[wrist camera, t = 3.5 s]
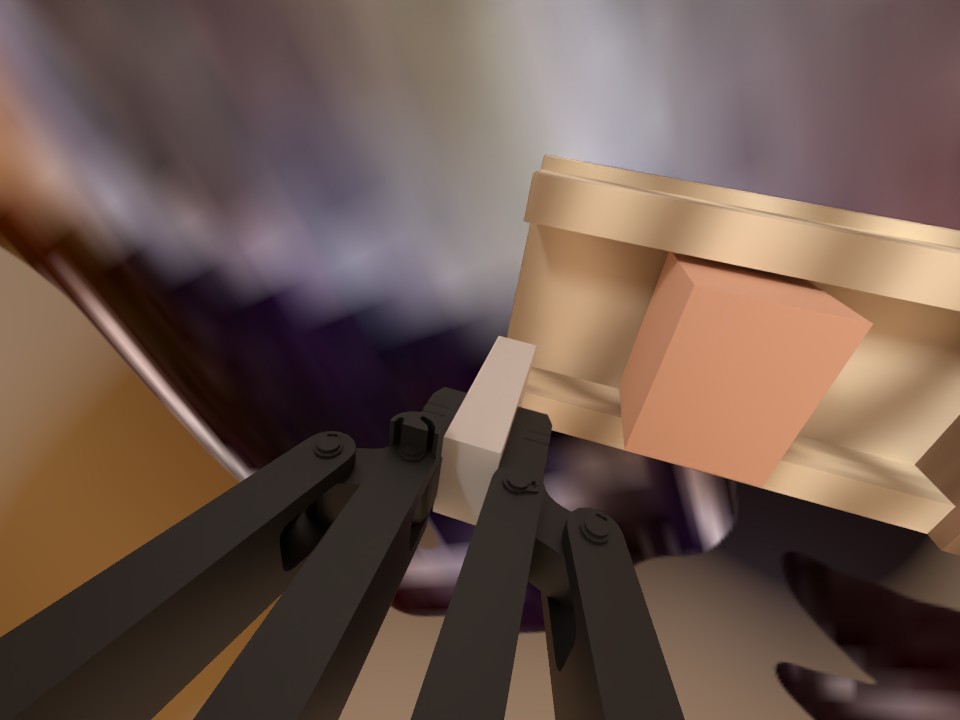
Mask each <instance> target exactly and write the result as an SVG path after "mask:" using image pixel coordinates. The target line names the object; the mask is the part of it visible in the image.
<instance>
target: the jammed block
mask: <svg viewBox="0 0 960 720" xmlns="http://www.w3.org/2000/svg"><path fill="white" fill-rule="evenodd" d="M872 325H873V323H871V322H870V321H868V320H867V319H865V318H864V317H862V316H861V315H859V314H858V313H856V312H855V311H853V310H852V309H850V308H849V307H847V306H845V305H844V304H842V303H841V302H839V301H838V300H836V299H835V298H833V297H832V296H830V295H829V294H827V293H826V292H824V291H823V290H821V289H820V288H818V287H817V286H815V285H814V284H812V283H811V282H809V281H808V280H806V279H801V278H796V277H791V276H786V275H782V274H777V273H772V272H767V271H762V270H757V269H753V268H748V267H743V266H738V265H733V264H728V263H724V262H719V261H714V260H709V259H704V258H699V257H695V256H690V255H685V254H680V253H675V252H670V251H669V253H668V255H667V258H666V261H665V263H664V266H663V269H662V271H661V274H660V277H659V279H658V282H657V285H656V287H655V290H654V292H653V295H652V298H651V300H650V303H649V306H648V308H647V311H646V314H645V316H644V319H643V322H642V324H641V327H640V329H639V332H638V335H637V337H636V340H635V343H634V345H633V348H632V351H631V353H630V356H629V359H628V361H627V364H626V366H625V369H624V372H623V374H622V377H621V380H620V382H619V393H620V405H621V416H622V427H623V439H624V450H628V451H631V452H635V453H639V454H642V455H646V456H649V457H653V458H657V459H660V460H664V461H668V462H671V463H675V464H678V465H682V466H686V467H689V468H693V469H696V470H700V471H704V472H707V473H711V474H715V475H718V476H722V477H725V478H729V479H733V480H736V481H740V482H744V483H747V484H751V485H754V486H758V487H762V486H763V485H764V483H765V482H766V480H767V479H768V478H769V476H770V475H771V473H772V472H773V470H774V469H775V467H776V466H777V464H778V463H779V461H780V460H781V458H782V457H783V456H784V454H785V453H786V451H787V450H788V448H789V447H790V445H791V444H792V442H793V441H794V439H795V438H796V437H797V435H798V434H799V432H800V431H801V429H802V428H803V426H804V425H805V423H806V422H807V420H808V419H809V417H810V416H811V415H812V413H813V412H814V410H815V409H816V407H817V406H818V404H819V403H820V401H821V400H822V398H823V397H824V395H825V394H826V393H827V391H828V390H829V388H830V387H831V385H832V384H833V382H834V381H835V379H836V378H837V376H838V375H839V373H840V372H841V371H842V369H843V368H844V366H845V365H846V363H847V362H848V360H849V359H850V357H851V356H852V354H853V353H854V351H855V350H856V349H857V347H858V346H859V344H860V343H861V341H862V340H863V338H864V337H865V335H866V334H867V332H868V331H869V329H870V328H871V327H872Z"/></svg>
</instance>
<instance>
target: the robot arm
mask: <svg viewBox="0 0 960 720" xmlns="http://www.w3.org/2000/svg"><path fill="white" fill-rule="evenodd" d="M535 349H536V345H533V344H529V343H525V342H521V341H517V340H513V339H509V338H505V337H501V336H498V338H497V340H496V342H495V344H494V345H493V347H492V349H491V351H490V353H489V355H488V356H487V358H486V360H485V362H484V364H483V366H482V367H481V369H480V371H479V373H478V375H477V377H476V378H475V380H474V382H473V384H472V386H471V388H470V389H469V391H468V393H464V392H461V391H457V390H453V389H450V388H446V387H444V388H442V389H441V390H439V391H437V392H435V393H434V394H433V395H432V397H431V398H430V400H429V401H428V403H427V404H426V405H425V407H424V408H423V411H421V412H404V413H401V414H398V415H396V416H395V417H393V418H392V419H391V420H390V431H389V445H388V446H387V448H382V449H362V448H356V445H355V443H354V440H353V439H352V438H351V437H350V436H348V435H346V434H344V433H341V432H331V431H329V432H323V433H318V434H316V435H314V436H312V437H310V438H308V439H307V440H305V441H304V442H302V443H300V444H299V445H297V446H296V447H294V448H293V449H291V450H290V451H288V452H287V453H285V454H283V455H282V456H280V457H279V458H277V459H276V460H274V461H273V462H271V463H270V464H268V465H266V466H265V467H263V468H262V469H260V470H259V471H257V472H256V473H254V474H253V475H251V476H249V477H248V478H246V479H245V480H243V481H242V482H240V483H239V484H237V485H236V486H234V487H233V488H231V489H229V490H228V491H226V492H225V493H223V494H222V495H220V496H219V497H217V498H215V499H214V500H212V501H211V502H209V503H208V504H206V505H205V506H203V507H201V508H200V509H198V510H197V511H195V512H194V513H192V514H191V515H189V516H188V517H186V518H184V519H183V520H181V521H180V522H178V523H177V524H176V525H174V526H172V527H171V528H169V529H168V530H166V531H164V532H163V533H161V534H160V535H158V536H157V537H155V538H154V539H152V540H150V541H149V542H147V543H146V544H144V545H143V546H141V547H140V548H138V549H137V550H135V551H133V552H132V553H130V554H129V555H127V556H126V557H124V558H123V559H121V560H120V561H118V562H116V563H115V564H113V565H112V566H110V567H109V568H107V569H106V570H104V571H102V572H101V573H99V574H98V575H96V576H95V577H93V578H92V579H90V580H89V581H87V582H85V583H84V584H82V585H81V586H79V587H78V588H76V589H75V590H73V591H72V592H70V593H68V594H67V595H65V596H64V597H62V598H61V599H59V600H58V601H56V602H55V603H53V604H52V605H50V606H48V607H47V608H45V609H44V610H42V611H41V612H39V613H38V614H36V615H34V616H33V617H31V618H30V619H28V620H27V621H25V622H24V623H22V624H21V625H19V626H17V627H16V628H14V629H13V630H11V631H10V632H8V633H7V634H5V635H3V636H2V637H0V720H151V719H152V718H153V717H154V716H155V715H156V714H157V713H158V712H159V711H160V710H161V709H162V708H163V707H164V706H165V705H167V704H168V703H169V702H170V701H171V700H172V699H173V698H174V697H175V696H176V695H177V694H178V693H179V692H180V691H181V690H182V689H183V688H184V687H185V686H186V685H187V684H188V683H189V682H191V681H192V680H193V679H194V678H195V677H196V676H197V675H198V674H199V673H200V672H201V671H202V670H203V669H204V668H205V667H206V666H207V665H208V664H209V663H210V662H211V661H212V660H213V659H214V658H215V657H217V656H218V655H219V654H220V652H222V651H223V650H224V649H225V648H226V647H227V646H228V645H229V644H230V643H231V642H232V641H233V640H234V639H235V638H236V637H237V636H238V635H239V634H241V633H242V632H243V631H244V629H246V628H247V627H248V626H249V625H250V624H251V623H252V622H253V621H254V620H255V619H256V618H257V617H258V616H259V615H260V614H261V613H262V612H263V611H264V610H266V609H267V608H268V607H269V606H270V605H271V604H272V603H273V602H274V601H275V600H276V599H277V598H278V597H279V596H280V595H281V594H282V593H283V592H284V593H283V594H282V595H281V597H280V598H279V600H278V601H277V602H276V604H275V605H274V607H273V608H272V610H271V611H270V612H269V614H268V615H267V617H266V618H265V620H264V621H263V622H262V624H261V625H260V626H259V628H258V629H257V631H256V632H255V633H254V635H253V636H252V638H251V639H250V641H249V642H248V643H247V645H246V646H245V648H244V649H243V650H242V652H241V653H240V654H239V656H238V657H237V659H236V660H235V661H234V663H233V664H232V666H231V667H230V669H229V670H228V671H227V673H226V674H225V676H224V677H223V679H222V680H221V681H220V683H219V684H218V685H217V687H216V688H215V690H214V691H213V693H212V694H211V695H210V697H209V698H208V700H207V701H206V702H205V704H204V705H203V706H202V708H201V709H200V711H199V712H198V713H197V715H196V716H195V718H194V719H193V720H338V719H339V717H340V715H341V713H342V710H343V708H344V706H345V704H346V702H347V699H348V697H349V695H350V693H351V691H352V688H353V686H354V684H355V682H356V680H357V678H358V675H359V673H360V671H361V669H362V666H363V664H364V662H365V660H366V658H367V656H368V653H369V651H370V649H371V647H372V645H373V643H374V640H375V638H376V636H377V634H378V632H379V629H380V627H381V625H382V623H383V621H384V619H385V616H386V614H387V612H388V610H389V608H390V605H391V603H392V601H393V599H394V597H395V594H396V592H397V590H398V588H399V586H400V584H401V581H402V579H403V577H404V575H405V573H406V570H407V568H408V566H409V564H410V562H411V559H412V557H413V555H414V553H415V551H416V549H417V546H418V544H419V542H420V540H421V537H422V535H423V533H424V531H425V529H426V526H427V521H428V514H429V511H430V509H431V507H432V505H433V503H434V508H433V512H436V513H439V514H442V515H445V516H449V517H452V518H455V519H458V520H461V521H464V522H467V523H470V524H473V525H476V526H475V529H474V532H473V535H472V538H471V541H470V544H469V547H468V550H467V553H466V556H465V559H464V562H463V565H462V568H461V571H460V574H459V577H458V580H457V583H456V586H455V589H454V592H453V595H452V598H451V601H450V604H449V607H448V610H447V613H446V616H445V619H444V622H443V625H442V628H441V631H440V634H439V637H438V640H437V643H436V646H435V649H434V652H433V655H432V658H431V661H430V664H429V667H428V670H427V672H426V676H425V679H424V681H423V684H422V688H421V690H420V693H419V696H418V700H417V702H416V705H415V708H414V711H413V714H412V717H411V720H504V716H505V710H506V705H507V699H508V693H509V687H510V681H511V675H512V669H513V664H514V658H515V651H516V646H517V640H518V635H519V629H520V623H521V617H522V611H523V605H524V600H525V594H526V588H527V582H529V583H530V584H532V585H533V586H535V587H536V588H537V589H539V590H540V591H542V593H541V597H542V606H543V614H544V623H545V632H546V641H547V650H548V658H549V667H550V676H551V684H552V693H553V702H554V711H555V719H556V720H685V719H684V716H683V713H682V710H681V707H680V704H679V702H678V698H677V695H676V692H675V689H674V686H673V683H672V680H671V677H670V674H669V671H668V668H667V665H666V662H665V659H664V656H663V653H662V650H661V647H660V644H659V641H658V638H657V635H656V632H655V629H654V626H653V623H652V620H651V617H650V614H649V611H648V608H647V605H646V602H645V599H644V596H643V593H642V590H641V587H640V584H639V581H638V578H637V575H636V572H635V569H634V566H633V563H632V560H631V557H630V554H629V551H628V548H627V545H626V542H625V539H624V536H623V533H622V531H621V529H620V528H619V526H618V524H617V523H616V522H615V521H614V520H613V519H612V518H611V517H610V516H608V515H606V514H605V513H603V512H601V511H599V510H596V509H592V508H578V509H576V510H574V511H572V512H570V511H568V510H567V509H565V508H563V507H562V506H560V505H559V504H558V503H556V502H555V501H554V500H553V499H552V498H551V497H550V496H549V495H548V493H547V492H546V490H545V487H544V484H543V477H544V471H545V465H546V459H547V454H548V448H549V442H550V436H551V431H552V423H551V421H550V419H549V416H548V415H547V414H544V413H540V412H537V411H533V410H529V409H526V408H522V407H521V405H522V402H523V398H524V394H525V390H526V386H527V382H528V377H529V373H530V369H531V365H532V361H533V357H534V353H535Z"/></svg>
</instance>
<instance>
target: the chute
mask: <svg viewBox="0 0 960 720" xmlns="http://www.w3.org/2000/svg"><path fill="white" fill-rule="evenodd" d="M524 221H526V222H530V227H529V232H528V237H527V242H526V247H525V251H524V256H523V261H522V266H521V271H520V276H519V281H518V285H517V290H516V295H515V300H514V305H513V310H512V315H511V319H510V324H509V329H508V334H507V338H509V339H513V340H517V341H521V342H525V343H529V344H533V345H536V349H535V353H534V357H533V361H532V365H531V369H530V373H529V377H528V382H527V386H526V390H525V394H524V398H523V402H522V405H521V407H522V408H526V409H529V410H533V411H537V412H540V413H544V414H547V415H548V416H549V419H550V421H551V423H552V430H553V431H557V432H560V433H564V434H568V435H571V436H575V437H578V438H582V439H586V440H589V441H593V442H596V443H600V444H604V445H607V446H611V447H615V448H618V449H622V450H624V439H623V427H622V416H621V405H620V393H619V382H620V380H621V377H622V374H623V372H624V369H625V366H626V364H627V361H628V359H629V356H630V353H631V351H632V348H633V345H634V343H635V340H636V337H637V335H638V332H639V329H640V327H641V324H642V322H643V319H644V316H645V314H646V311H647V308H648V306H649V303H650V300H651V298H652V295H653V292H654V290H655V287H656V285H657V282H658V279H659V277H660V274H661V271H662V269H663V266H664V263H665V261H666V258H667V255H668V253H669V251H670V252H675V253H680V254H685V255H690V256H695V257H699V258H704V259H709V260H714V261H719V262H724V263H728V264H733V265H738V266H743V267H748V268H753V269H757V270H762V271H767V272H772V273H777V274H782V275H786V276H791V277H796V278H801V279H806V280H808V281H809V282H811V283H812V284H814V285H815V286H817V287H818V288H820V289H821V290H823V291H824V292H826V293H827V294H829V295H830V296H832V297H833V298H835V299H836V300H838V301H839V302H841V303H842V304H844V305H845V306H847V307H849V308H850V309H852V310H853V311H855V312H856V313H858V314H859V315H861V316H862V317H864V318H865V319H867V320H868V321H870V322H871V323H873V325H872V327H871V328H870V329H869V331H868V332H867V334H866V335H865V337H864V338H863V340H862V341H861V343H860V344H859V346H858V347H857V349H856V350H855V351H854V353H853V354H852V356H851V357H850V359H849V360H848V362H847V363H846V365H845V366H844V368H843V369H842V371H841V372H840V373H839V375H838V376H837V378H836V379H835V381H834V382H833V384H832V385H831V387H830V388H829V390H828V391H827V393H826V394H825V395H824V397H823V398H822V400H821V401H820V403H819V404H818V406H817V407H816V409H815V410H814V412H813V413H812V415H811V416H810V417H809V419H808V420H807V422H806V423H805V425H804V426H803V428H802V429H801V431H800V432H799V434H798V435H797V437H796V438H795V439H794V441H793V442H792V444H791V445H790V447H789V448H788V450H787V451H786V453H785V454H784V456H783V457H782V458H781V460H780V461H779V463H778V464H777V466H776V467H775V469H774V470H773V472H772V473H771V475H770V476H769V478H768V479H767V480H766V482H765V483H764V485H763V486H762V487H759V488H763V489H767V490H770V491H774V492H777V493H781V494H785V495H788V496H792V497H795V498H799V499H803V500H806V501H810V502H814V503H817V504H821V505H825V506H828V507H832V508H835V509H839V510H843V511H846V512H850V513H853V514H857V515H861V516H864V517H868V518H871V519H875V520H879V521H882V522H886V523H890V524H893V525H897V526H900V527H904V528H908V529H912V530H915V531H919V532H922V533H926V534H928V535H929V536H930V538H931V539H932V540H933V541H934V543H935V544H936V545H937V546H938V547H939V549H940V550H941V551H944V552H948V553H951V554H955V555H958V556H960V231H959V230H954V229H948V228H943V227H937V226H932V225H926V224H921V223H915V222H910V221H904V220H899V219H893V218H888V217H882V216H877V215H872V214H866V213H861V212H855V211H850V210H844V209H839V208H833V207H828V206H822V205H817V204H811V203H806V202H800V201H795V200H790V199H784V198H779V197H773V196H768V195H762V194H757V193H751V192H746V191H740V190H735V189H729V188H724V187H718V186H713V185H708V184H702V183H697V182H691V181H686V180H680V179H675V178H669V177H664V176H658V175H653V174H647V173H642V172H636V171H631V170H625V169H620V168H615V167H609V166H604V165H598V164H593V163H587V162H582V161H576V160H571V159H565V158H560V157H554V156H549V155H545V156H544V159H543V164H542V169H541V170H539V171H537V172H535V173H533V177H532V182H531V187H530V192H529V197H528V203H527V208H526V213H525V218H524ZM625 451H628V450H625ZM629 452H631V451H629ZM633 453H635V452H633ZM636 454H639V453H636ZM640 455H642V454H640ZM644 456H646V455H644ZM647 457H649V456H647ZM651 458H653V457H651ZM654 459H657V458H654ZM658 460H660V459H658ZM662 461H664V460H662ZM665 462H668V461H665ZM669 463H671V462H669ZM672 464H675V463H672ZM676 465H678V464H676ZM680 466H682V465H680ZM683 467H686V466H683ZM687 468H689V467H687ZM691 469H693V468H691ZM694 470H696V469H694ZM698 471H700V470H698ZM701 472H704V471H701ZM705 473H707V472H705ZM709 474H711V473H709ZM712 475H715V474H712ZM716 476H718V475H716ZM719 477H722V476H719ZM723 478H725V477H723ZM727 479H729V478H727ZM730 480H733V479H730ZM734 481H736V480H734ZM738 482H740V481H738ZM741 483H744V482H741ZM745 484H747V483H745ZM749 485H751V484H749ZM752 486H754V485H752ZM756 487H758V486H756Z"/></svg>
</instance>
